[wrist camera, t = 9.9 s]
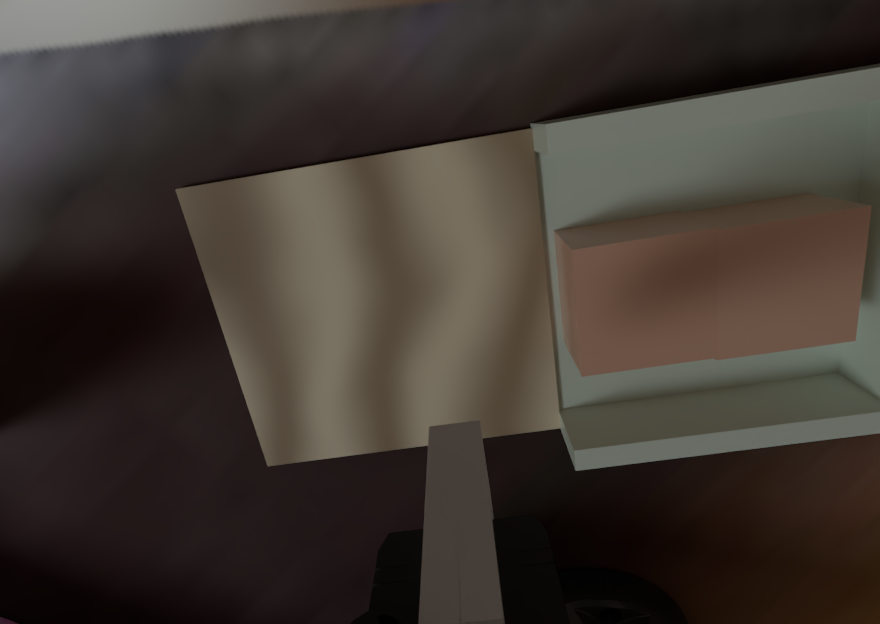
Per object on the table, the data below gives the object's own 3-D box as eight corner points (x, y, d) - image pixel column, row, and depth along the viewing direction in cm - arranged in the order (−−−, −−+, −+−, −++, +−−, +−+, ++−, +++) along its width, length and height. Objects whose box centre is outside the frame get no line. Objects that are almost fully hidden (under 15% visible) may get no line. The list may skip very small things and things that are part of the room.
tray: (559, 426, 29) (575, 470, 26) (530, 123, 24) (545, 124, 20) (856, 387, 28) (918, 428, 25) (898, 60, 23) (987, 48, 19)
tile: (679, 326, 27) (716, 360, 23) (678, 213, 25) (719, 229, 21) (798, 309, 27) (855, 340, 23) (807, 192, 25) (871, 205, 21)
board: (270, 460, 31) (267, 466, 30) (180, 188, 25) (175, 189, 25) (559, 423, 29) (560, 428, 29) (530, 128, 24) (532, 128, 23)
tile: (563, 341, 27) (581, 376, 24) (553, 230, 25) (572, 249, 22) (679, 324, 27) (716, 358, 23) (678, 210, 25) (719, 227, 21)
